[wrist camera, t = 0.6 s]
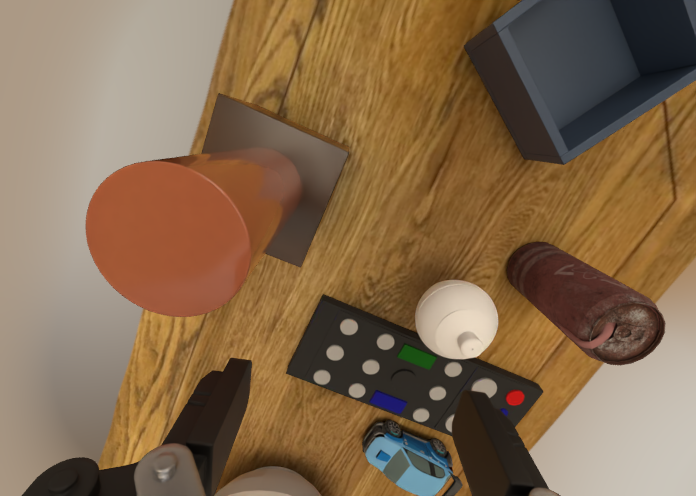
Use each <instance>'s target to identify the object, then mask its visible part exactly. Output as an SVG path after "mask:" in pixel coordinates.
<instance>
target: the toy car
mask: <svg viewBox="0 0 696 496" xmlns="http://www.w3.org/2000/svg"><path fill="white" fill-rule="evenodd" d="M362 445H363V452H364V453H365V455H366V458H367V460H368V462H370V463H371V464H372V465H373V466H375V467H377V468H378V469H380V470H381V471H382V472H383V473H384V474H385V475H386V476H387V477H388V478H389V479H390V480H391V481H392V482H394V483H395V484H396V485H397V486H399V487H400V488H402V489H404V490H406V491H409V492H411V493H413V494H416V495H419V496H434V495H436V494H437V493H438V492H439V491H440V490H441V489H442V488H443V487H444V486H445V484H446V483H447V482H448V480H449V479H450V478H451V476H452V478H453V479H454V482H453V484H452V485H451V486H450V488H449V489H448V490H447V491H446V492H445V493H444V494H443V495H442V496H454V495H455V494H456V493H457V492H458V491H459V490H460V489H461V487H462V486H463V485H462V483H461V481H460V479H459V478H458V477H457V476H454V475H453V470H452V466H453V463H452V458H451V455H450V453H449V452H448V451H446V448H445V446H444V445H443V443H442V442H441V441H439V440H438V439H436V438H432V439H431V440H430V441H429V440H427V439H424V438H422V437H419V436H417V435H414V434H412V433H409V432H407V431H404V430H402V431H401V429H400V427H399V426H398V425H397V424H396V423H395V422H394V421H392V420H387V421H386V422H385V423H384V422H377V423H376V424H374V425H373V426H372V427H371V429H370V430H369V431H368V433H367V434H366V436H365V437H364V439H363V442H362ZM446 452H447V453H446Z"/></svg>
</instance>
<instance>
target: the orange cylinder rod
mask: <svg viewBox="0 0 696 496" xmlns="http://www.w3.org/2000/svg"><path fill="white" fill-rule="evenodd" d="M301 196H302V183H301V178H300V175H299V173H298V171H297V169H296V167H295V166H294V164H293V163H292V162H291V161H290V160H289V159H288V158H287V157H286V156H285V155H283V154H282V153H280V152H279V151H277V150H274V149H272V148H268V147H250V148H242V149H235V150H227V151H220V152H212V153H205V154H197V155H190V156H182V157H176V158H167V159H160V160H152V161H145V162H140V163H134V164H131V165H128V166H125V167H123V168H121V169H119V170H117V171H116V172H114V173H113V174H111V175H110V176H109V177H107V178H106V180H105V181H103V182H102V183H101V184H100V186H99V187H98V189H97V190H96V192H95V193H94V195H93V197H92V199H91V201H90V203H89V207H88V210H87V215H86V237H87V243H88V246H89V250H90V253H91V255H92V257H93V260H94V262H95V264H96V266H97V267H98V269H99V271H100V272H101V273H102V275H103V276H104V277H105V279H106V280H107V281H108V282H109V284H110V285H111V286H113V288H114V289H115V290H116V291H118V292H119V293H120V294H121V295H122V296H124V297H125V298H126V299H128V300H129V301H131V302H132V303H134V304H136V305H138V306H140V307H142V308H144V309H146V310H149V311H152V312H155V313H158V314H162V315H167V316H175V317H190V316H197V315H202V314H205V313H209V312H211V311H213V310H216V309H218V308H220V307H221V306H223V305H224V304H226V303H227V302H228V301H230V300H231V299H232V298H233V297H234V296H235V295H236V294H237V293H238V291H239V290H240V289H241V287H242V286H243V284H244V283H245V281H246V280H247V279H248V277H249V276H250V274H251V273H252V272H253V270H254V269H255V267H256V266H257V265H258V263H259V262H260V260H261V259H262V257H263V256H264V255H265V253H266V252H267V250H268V249H269V248H270V246H271V245H272V243H273V242H274V241H275V239H276V238H277V236H278V235H279V233H280V232H281V231H282V229H283V228H284V226H285V225H286V224H287V222H288V221H289V219H290V218H291V217H292V215H293V214H294V212H295V211H296V209H297V208H298V206H299V204H300V200H301Z"/></svg>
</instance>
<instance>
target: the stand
mask: <svg viewBox="0 0 696 496" xmlns="http://www.w3.org/2000/svg"><path fill="white" fill-rule="evenodd" d="M250 147H268V148H272V149H274V150H277V151H279V152H280V153H282V154H283V155H285V156H286V157H287V158H288V159H289V160H290V161H291V162H292V163H293V164H294V166H295V167H296V169H297V171H298V173H299V175H300V178H301V183H302V196H301V200H300V204H299V206H298V208H297V209H296V211H295V212H294V214H293V215H292V217H291V218H290V219H289V221H288V222H287V224H286V225H285V226H284V228H283V229H282V231H281V232H280V233H279V235H278V236H277V238H276V239H275V241H274V242H273V243H272V245H271V246H270V248H269V249H268V250H267V252H266V253H265V254H268V255H270V256H273V257H275V258H278V259H280V260H283V261H285V262H288V263H290V264H293V265H295V266H298V267H301V266H302V264H303V261H304V259H305V256H306V254H307V252H308V249H309V247H310V245H311V242H312V240H313V237H314V235H315V233H316V230H317V228H318V226H319V223H320V221H321V218H322V216H323V214H324V211H325V209H326V207H327V204H328V202H329V200H330V197H331V195H332V192H333V190H334V188H335V185H336V183H337V181H338V178H339V176H340V173H341V171H342V169H343V166H344V164H345V162H346V159H347V157H348V154H349V147H348V146H345V145H343V144H341V143H339V142H337V141H334V140H332V139H330V138H328V137H326V136H323V135H321V134H319V133H317V132H315V131H313V130H310V129H308V128H306V127H304V126H302V125H299V124H297V123H295V122H293V121H291V120H288V119H286V118H284V117H282V116H280V115H277V114H275V113H273V112H271V111H269V110H266V109H264V108H262V107H260V106H258V105H255V104H252V103H249V102H245V101H242V100H239V99H236V98H232V97H229V96H226V95H223V94H220V93H219V94H218V97H217V100H216V104H215V107H214V111H213V114H212V118H211V121H210V125H209V128H208V132H207V135H206V139H205V143H204V146H203V150H202V153H201V154H205V153H212V152H220V151H227V150H235V149H242V148H250Z"/></svg>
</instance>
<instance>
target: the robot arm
mask: <svg viewBox="0 0 696 496" xmlns="http://www.w3.org/2000/svg"><path fill="white" fill-rule="evenodd" d="M251 368H252V361H251V360H244V359H237V358H230V360H229V361H228V363H227V365H226V367H225V369H224V371H223V372H221V371H211V372H210V373H209V374H208V375H206V376H205V377H204V378H202V379H201V380H200V382H199V384H198V385H197V387H196V389H195V390H194V393H193V394H192V395H191V397H190V399H189V400H188V403H187V404H186V405H185V407H184V409H183V410H182V412H181V414H180V415H179V417H178V419H177V420H176V422H175V424H174V425H173V427H172V429H171V430H170V432H169V434H168V435H167V437H166V439H165V440H164V442H163V443H162V445H161V446H159V447H157V448H155V449H153V450H151V451H150V452H149V453H147V454H146V455H145V456H144V457H143V458H142V459H141V460H140V461H139V462H136V463H134V464H130V465H126V466H120V467H115V468H109V469H104V470H99V467H98V465H97V463H96V462H95V461H93V460H92V459H89V458H72V459H69V460H65V461H62V462H60V463H58V464H56V465H54V466H52V467H50V468H49V469H47V470H46V471H45V472H43V473H42V474H41V475H40V476H38V477H37V479H36V480H35V481H34V482H33V483H32V484H31V485H30V486H29V488H28V489H27V490H26V491H25V492H24V494H23V495H22V496H214V495H215V492H216V489H217V486H218V484H219V481H220V478H221V476H222V473H223V470H224V468H225V465H226V462H227V460H228V457H229V454H230V452H231V449H232V446H233V443H234V441H235V438H236V435H237V433H238V430H239V427H240V425H241V422H242V419H243V417H244V414H245V411H246V408H247V404H248V399H249V393H250V380H251ZM518 435H519V434H518V432H517V431H516V429H515V427H514V425H513V423H512V422H511V420H510V419H509V418H508V417H507V416H506V415H505V414H504V413H503V412H502V411H501V410H500V409H495V408H494V407H493V405H492V403H491V401H490V399H489V397H488V395H487V394H486V393H484V392H478V391H470V390H464V391H463V392H462V394H461V397H460V400H459V403H458V406H457V409H456V412H455V415H454V418H453V421H452V436H453V440H454V443H455V446H456V449H457V452H458V455H459V458H460V461H461V464H462V467H463V470H464V473H465V476H466V479H467V482H468V485H469V488H470V490H471V493H472V496H560V495H559V494H557V493H555V492H554V491H551V490H549V488H548V486H547V484H546V482H545V481H544V479H543V477H542V476H541V474H540V472H539V470H538V469H537V466H536V465H535V463H534V461H533V460H532V457H531V456H530V454H529V452H528V450H527V449H526V448H525V445H524V443H523V441H522V440H521V438H520V437H519V436H518Z"/></svg>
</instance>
